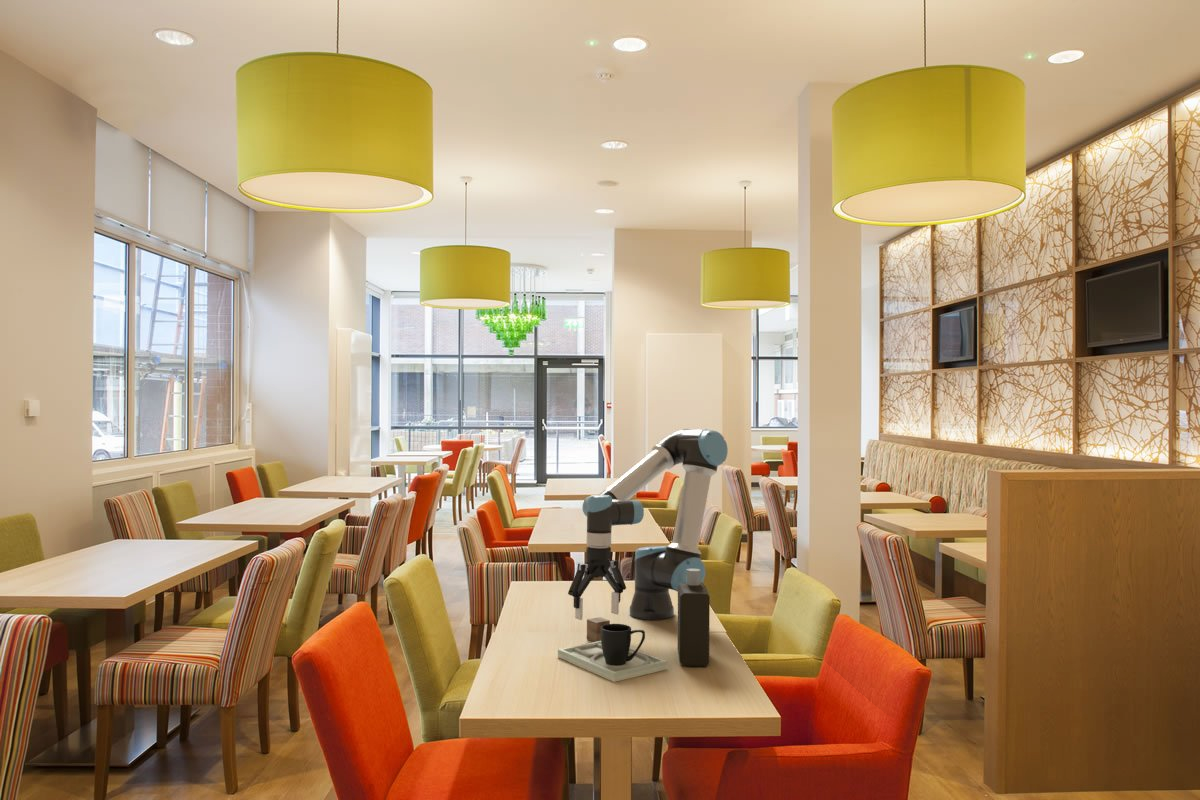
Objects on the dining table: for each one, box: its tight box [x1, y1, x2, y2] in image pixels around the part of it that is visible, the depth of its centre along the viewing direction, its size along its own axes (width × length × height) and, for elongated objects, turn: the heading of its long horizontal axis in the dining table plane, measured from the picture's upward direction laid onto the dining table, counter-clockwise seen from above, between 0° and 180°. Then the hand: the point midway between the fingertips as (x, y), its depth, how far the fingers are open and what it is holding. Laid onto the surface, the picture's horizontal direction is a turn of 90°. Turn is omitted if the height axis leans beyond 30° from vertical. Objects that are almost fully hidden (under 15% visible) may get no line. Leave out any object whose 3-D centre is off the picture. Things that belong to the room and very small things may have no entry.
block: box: [586, 616, 611, 642], centre depth 250 cm, size 5×5×6 cm
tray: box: [557, 641, 668, 683], centre depth 227 cm, size 18×26×2 cm
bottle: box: [677, 568, 711, 668], centre depth 231 cm, size 8×16×25 cm, turn 177°
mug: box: [601, 623, 646, 666], centre depth 223 cm, size 8×12×10 cm
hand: (597, 616), depth 250 cm, fingers open, 13 cm apart
